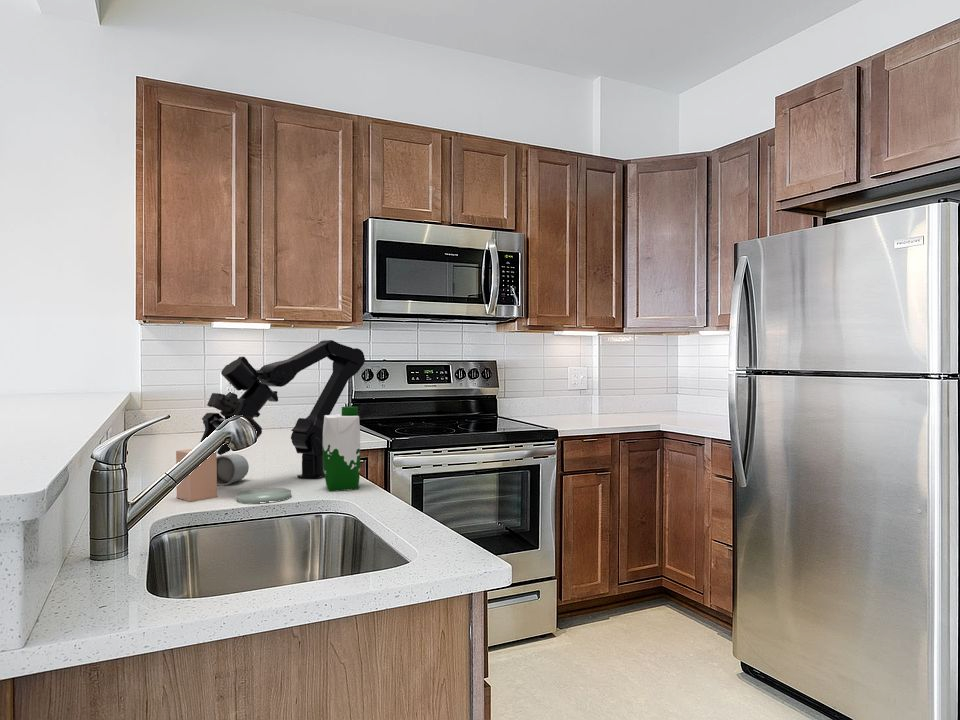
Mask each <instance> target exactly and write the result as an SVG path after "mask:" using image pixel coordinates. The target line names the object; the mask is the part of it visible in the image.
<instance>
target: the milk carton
mask: <svg viewBox="0 0 960 720" xmlns="http://www.w3.org/2000/svg"><path fill="white" fill-rule="evenodd" d="M359 415H360V414H359V407H358V406H356V405H355V406H353V405H352V406H341V414H339V413H335V414H330V415H324V425H323V470H324V475H325V476H324V479H325V484H326V487H327V490H328V492H335V491H336V490H339V491H348V490H347V489H352V490H359V486H360V478H361V477H360V476H361V475H360V474H361V428H360V423H361V422H360V416H359ZM336 492H337V491H336Z"/></svg>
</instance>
